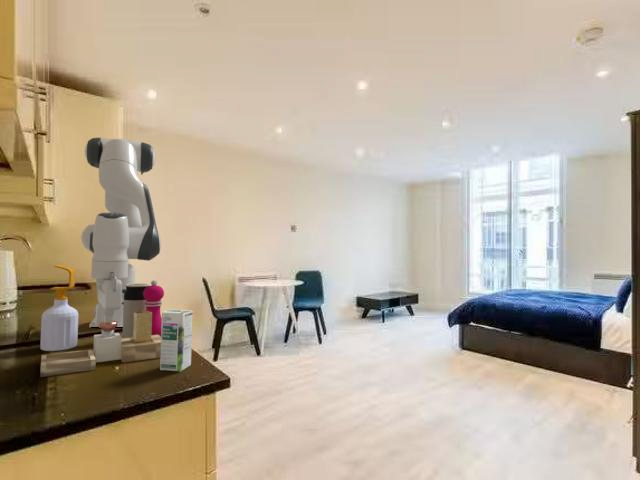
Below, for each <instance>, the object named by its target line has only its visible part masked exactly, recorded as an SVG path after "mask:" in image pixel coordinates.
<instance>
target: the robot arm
mask: <svg viewBox="0 0 640 480" xmlns="http://www.w3.org/2000/svg"><path fill="white" fill-rule="evenodd" d="M84 148H85V149H84V156H85V158H86V161H87V163H88V164H89V165H90V166H91V167H93V168H95V169H98V181H99V184H100V186H101V188H102V189H103V190H104V206H105V208H106V210H107V211H108V212H100V213H98V214H97V215H96V217H95V220H94V221H95V222H94V223H92V224H88V225H87V226H86V227H85V228H84V229H83V230H82V232H81V236H80V237H81V238H80V239H81V243H82V245H83V247H84V248H85V249H86V250H88V251H89V252H90V253H92V255H93V256H92V258H91V272H90V276H91V277H90V278H91V279H95V283H96V296H97V301H98V302H97V304H96V305H95V306H94V308H93V313H92V314H93V319H92V320H91V322H90V323H89V326H88V328H91V327H99V323H100V322H104V321H105V323H112V322H113V321H117V327H123V306H124V294H125V292H126V286H125V285H126V284H134V283H135V282H136V269H135V267H134V266H133V265H132V264H131V263H129V260H139V261H151V260H153V259H155V258H156V257H157V256H158V255H160V252H161V248H162V240H161V236H160V234H159V231H158V227H157V222H156V218H155V217H156V216H155V213H154V211H155V210H154V207H153V206H154V205H153V203H152V198H151V194H150V190H149V188H148V185H147V184H145V183H144V182H142V181H141V179H140V177H139V176H138V172H140V175H144V173H148V172H150V171H151V170H152V169H153V167H154V166H155V163H156V153H155V151H154V147H153V146H152V145H151V144H149V143H147V142H146V143H145V142H138V141H134V140H130V139H124V138H102V137H92V138H90V139H89V140H88V141H87V143H86V145H85V147H84Z"/></svg>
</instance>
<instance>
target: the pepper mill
mask: <svg viewBox="0 0 640 480" xmlns="http://www.w3.org/2000/svg"><path fill="white" fill-rule="evenodd" d="M164 295H165V290H164V288H163V287H162V286H160V285H158V282H157V280H155V279H154V280H152V281H151V283H150V286H148V287H147V288H145V290H144V292H143V296H144V298H145V299H146V301H145V306H146V311H150V312H152V331H151V335H159V336H160V337H161V327H162V313H161V306H162V305H163V304H162V303H163V300H162V299H163V298H164Z"/></svg>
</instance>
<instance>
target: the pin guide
mask: <svg viewBox="0 0 640 480" xmlns="http://www.w3.org/2000/svg"><path fill="white" fill-rule="evenodd" d="M101 335H102V333H101V334H94V335H93V349H92V351H93V353H94V356H95V359H96V363H103V362H109V361H110V362H111V361H118V360H121V342H122V336H121V335H122V334H120V333H119V332H114V337H107V338H101Z"/></svg>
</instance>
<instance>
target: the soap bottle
mask: <svg viewBox="0 0 640 480" xmlns="http://www.w3.org/2000/svg"><path fill="white" fill-rule="evenodd" d="M53 267H55V268H58V269H61V270H65V271H67V272H68V276H69V277H68V280H69V281H68V286H54V287H51V288H50V290H52V291H53V290H54V291H55V293H56V294H57V296H55V297H54V300H53V301H54V302H53V305H52V306H51V307H49V308H47V309H46V310H45V311H44V312H42V315H41V316H40V317H41V321H40V322H41V324H40V343H39V344H40V345H39V346H40V347H39V348H40V350H41V351H44V352H61V351H67V350H72V349H73V348H76V347H77V345H78V335H79V334H78V333H79V329H78V328H79V312H78V310H77V309H76V308H75V307H72V306H70V305H69V303H68V301H69V300H68V299H69V298H68V296H65V293H68V292H67V291H68V290H70V289H73V288H74V287H75V283H76V282H75V281H76V279H75V278H76V271H75V269H73V268H72V267H68V266H66V265H61V264H55V265H53Z"/></svg>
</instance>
